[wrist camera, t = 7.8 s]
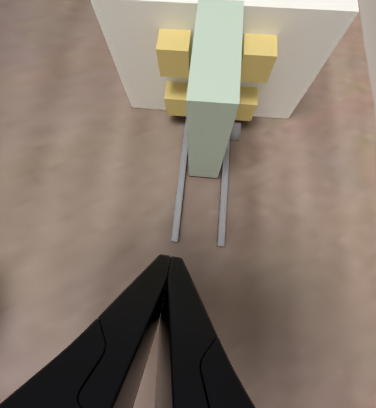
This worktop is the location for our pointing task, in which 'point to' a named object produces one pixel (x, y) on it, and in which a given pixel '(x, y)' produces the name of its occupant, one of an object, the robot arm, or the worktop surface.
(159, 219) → the worktop surface
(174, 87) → the white l-shaped stand
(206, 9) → the door
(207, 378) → the robot arm
